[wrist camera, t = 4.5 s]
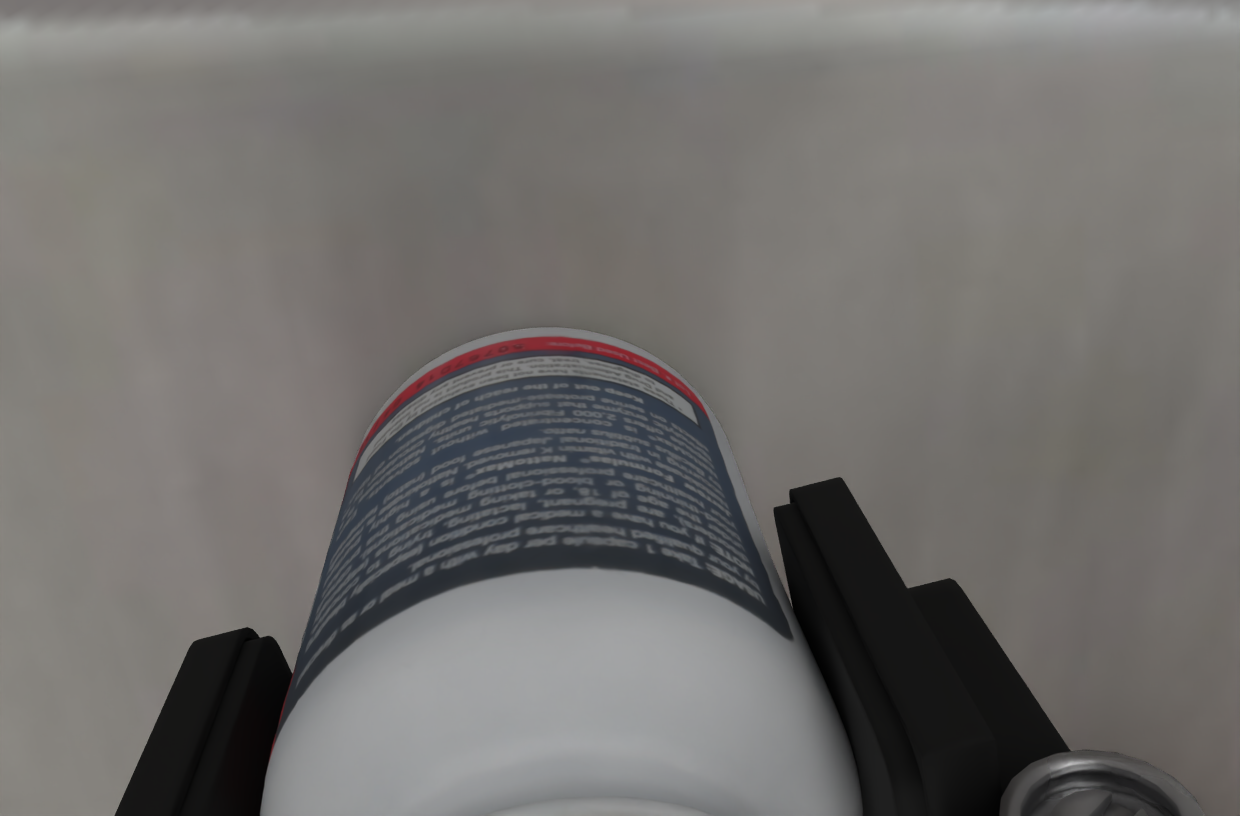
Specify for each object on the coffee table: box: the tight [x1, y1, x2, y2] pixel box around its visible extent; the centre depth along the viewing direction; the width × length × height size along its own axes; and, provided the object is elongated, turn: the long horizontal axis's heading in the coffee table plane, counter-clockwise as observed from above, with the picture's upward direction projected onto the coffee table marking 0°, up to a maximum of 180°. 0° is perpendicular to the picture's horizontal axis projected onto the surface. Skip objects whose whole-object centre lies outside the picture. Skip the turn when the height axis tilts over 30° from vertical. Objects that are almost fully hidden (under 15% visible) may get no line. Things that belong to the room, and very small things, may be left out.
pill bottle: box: [260, 327, 863, 816], centre depth 11 cm, size 5×5×9 cm
